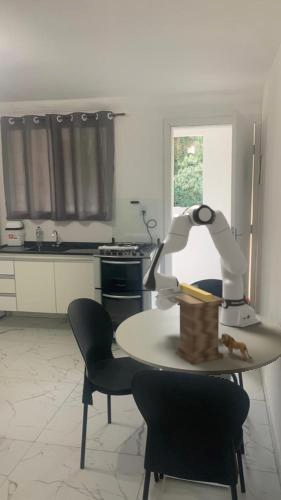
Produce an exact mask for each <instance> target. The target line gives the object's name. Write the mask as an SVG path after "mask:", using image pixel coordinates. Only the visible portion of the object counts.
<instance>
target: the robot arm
mask: <svg viewBox="0 0 281 500" xmlns="http://www.w3.org/2000/svg"><path fill="white" fill-rule="evenodd" d="M200 226H205V227H206V228H207V230H208V232H209V236H210V238H211V241H212V243H213V245H214V247H215V248H216V250H217V252H218V253H219V256H220V258H219V262H220V271H221V273H220V274H221V278H222V296H221V299H224V303H222V304H221V311H220V312H221V314H220V317H219V323H220V324H221V325H225V326H230V327H238V328H239V327H240V328H244V327H248V326H251V325H255V324H258V323H260V322H261V320H260V318H259V317H257V314H256V310H255V309H254V308H253V307H251V306H250V305H248V304H247V303H249V302H250V298H249V297H244V281H243V276H242V275H243V274H245V273H246V272H247V270H248V267H249V263H248V260H247V259H246V257H245V255H244V253H243V252H242V249H241V247H240V246H239V244H238V242H237V240H236V238H235V235H234V234H233V231H232V229H231V227H230V224H229V222H228V220H227V218H226V216H225V214H223V212H222V211H221V210H219V209H213V208H211V207H210V206H209V205H207V204H203V203H202V204H201V203H200V204H194V205H192V206H188V207H187V208H186V209H184V211H183V212H182V213H177V214H175V215H174V216H172V218H171V221H170V224H169V227H168V230H167V235H166V237H165V239H164V240H162V241H161V242H159V243H158V245H157V247H156V249H155V251H154V253H153V256H152V258H151V261H150V264H149V265H148V268H147V270H146V273H145V275H144V277H143V280H142V286H143V287H144V288H145V290H146V291H147V292H156V293H157V294H156V296H155V297H154V298H155V301H154V305H155V306H156V308H157V309H158V310H160V311H168V310H170V309H172V308H173V307H174V306H176V305H177V304H180V302H178V301H176V300H175V296H182V295H189V294H187V293H184V292H182V291H180V290H182V286H178V283H180V282H179V280H178V278H177V277H176V276H175V275H171V274H166V273H165V274H164V273H159V272H158V270H159V268H160V265H161V262H162V260H163V258H164V257H165V256H166V255H170V254H175V253H179V252H181V251H182V250H184V249H185V248H186V247H187V245H188V242H189V236H190V231H191V230H192V228H193V227H200ZM189 285H190V286H193V287H195V288H198V289H200V288H199V285H198V284H189ZM246 302H247V303H246Z"/></svg>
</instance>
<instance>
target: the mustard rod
mask: <svg viewBox="0 0 281 500" xmlns="http://www.w3.org/2000/svg"><path fill="white" fill-rule="evenodd" d="M190 285H191V284H188V283H185V282H181V283H180V282H179V283H178V286H182V290H180V291H182V292H184V293H187V294H189V295H191V296H193V297H196V298H198V299H200V300H202V301H204V302H211V301H212V295H213V293H210V292H207V291H205V290H203V289H200V288H199V287H198V288H199V289H198V288H195V287H193V286H190Z"/></svg>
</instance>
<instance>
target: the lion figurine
mask: <svg viewBox="0 0 281 500" xmlns="http://www.w3.org/2000/svg"><path fill="white" fill-rule="evenodd" d="M219 341H220V342H221V344H223V345H224V346H225V348H228V353H227V356H232V353H234V350H236V351H238V350H239V352H240V353H241V356H242V357H243V360H244V361H246V360H247V359H248V358H249V359H251V360H253V357H252V356H250V355H249V354H250V353H249V350H248V347H247V345H246V344H245V343H244V342H241V341H237V340H235V338H234V337H233V336H231V335H230V334H228V333H222V334H221V337H220V340H219Z"/></svg>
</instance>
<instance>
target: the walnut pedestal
mask: <svg viewBox="0 0 281 500" xmlns="http://www.w3.org/2000/svg"><path fill="white" fill-rule="evenodd" d="M175 300H176V301H178V302H180V303H179V348H175V349H174V351H175V354H177V355H178V356H180V357H181V358H182V359H184V361H186V362H187V363H189V364H190V365H195V364H199V363H204V362H208V361H214V360H217V359H223V358H224V354H223V352H221V351H219V331H220V329H219V328H220V327H219V326H220V325H219V323H220V322H219V320H220V317H219V316H220V315H219V314H220V313H219V311H220V310H219V309H220V307H219V305H220V304H221V305H222V303H224V299H222V297H219V296H216V295H213V294H212V301H211V302H204V301H202V300H200V299H198V298H196V297H193V296H191V295H182V296H175Z"/></svg>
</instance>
